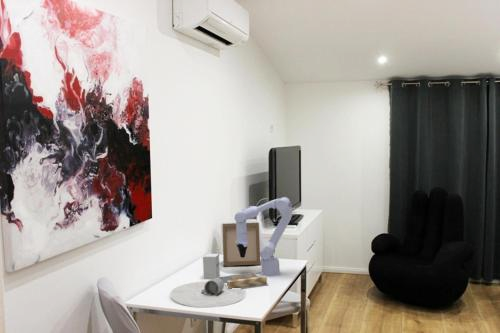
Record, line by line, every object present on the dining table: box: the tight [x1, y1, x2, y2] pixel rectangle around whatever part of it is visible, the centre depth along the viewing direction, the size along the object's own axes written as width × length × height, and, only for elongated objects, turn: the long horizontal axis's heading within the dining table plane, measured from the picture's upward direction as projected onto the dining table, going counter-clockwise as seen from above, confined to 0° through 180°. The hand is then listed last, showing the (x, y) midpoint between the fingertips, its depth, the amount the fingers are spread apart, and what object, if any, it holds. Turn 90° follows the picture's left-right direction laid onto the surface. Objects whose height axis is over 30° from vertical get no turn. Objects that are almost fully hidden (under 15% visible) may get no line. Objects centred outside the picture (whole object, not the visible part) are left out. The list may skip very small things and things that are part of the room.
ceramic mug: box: [201, 278, 225, 296], centre depth 233 cm, size 11×8×8 cm
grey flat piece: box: [229, 272, 257, 280], centre depth 249 cm, size 12×8×3 cm, turn 107°
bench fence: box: [226, 274, 268, 290], centre depth 243 cm, size 20×5×4 cm, turn 107°
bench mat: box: [218, 272, 269, 290], centre depth 250 cm, size 20×26×1 cm
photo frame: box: [222, 222, 261, 267], centre depth 289 cm, size 15×22×25 cm
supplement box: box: [202, 253, 221, 280], centre depth 261 cm, size 7×7×13 cm
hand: (242, 257), depth 266 cm, fingers closed
